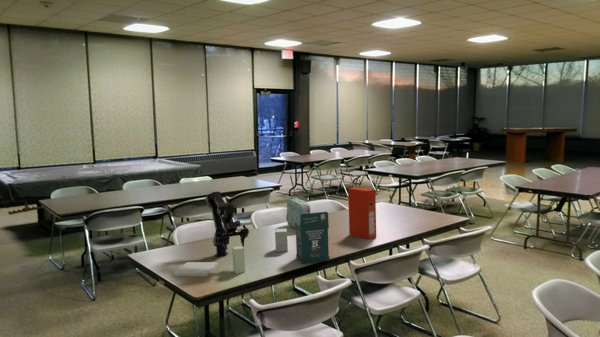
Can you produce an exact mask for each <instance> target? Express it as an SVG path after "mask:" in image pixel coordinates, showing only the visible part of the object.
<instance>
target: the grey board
mask: <svg viewBox="0 0 600 337" xmlns="http://www.w3.org/2000/svg"><path fill="white" fill-rule="evenodd" d="M218 266H219V262H215V261H214V262H211V261H210V262H209V261H208V262H206V261H204V262H203V261H202V262H201V261H196V262H195V261H194V262H193V261H187V262H185V263H184V264H183V265H182V266H180V268H178V269H177V270H176V271H174V272H173V276H175V277H208V276H209V275H210V274H211V273H212V272H213V271H214V270H215V269H216V268H217V267H218Z"/></svg>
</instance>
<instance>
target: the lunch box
mask: <svg viewBox="0 0 600 337" xmlns="http://www.w3.org/2000/svg"><path fill="white" fill-rule="evenodd" d="M308 213H311V206H310V204H309V203H308V202H307V201H305V200H302V199H300V198H298V197H294V198H290V199H288V200H287V202H286V217H285V218H286V223H287V225H288V226H289V227H291V228H293V229H295V230H296V227H295V222H297V221H300V220H301V217H300V216H301V214H308Z"/></svg>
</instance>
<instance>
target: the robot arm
mask: <svg viewBox="0 0 600 337" xmlns="http://www.w3.org/2000/svg"><path fill="white" fill-rule="evenodd" d="M205 202H206V205H207V207H208V208H209V209H210V210H211V214H212V220H213V224H214V228H215V232H214V234H213V239H212V245H213V246H214V247H215V248H216V250H215V251H216V253H215V254H214V257H226V256H227V255H228V254H229V251H228V252H227V250H228V245H230V238H231V237H237V236H239V237H240V243H241V246H242V247H243V248H244V246H245V239H246V238H247V237H248V236H249V234H250V230H249V228H248V227H246V228H241V229H240V231H237V230H238V228H239V227H241V221H240V220H239V219H238V220H235V221H234V220H233V219H234V216H235V213H236V207H235V206H233V205H231V203H228V202H226V201H225V200H224V198H223V197H222V195H221V191H212V192H210V193H209V194H207V195H206V196H205ZM221 216H222V217H221Z"/></svg>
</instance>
